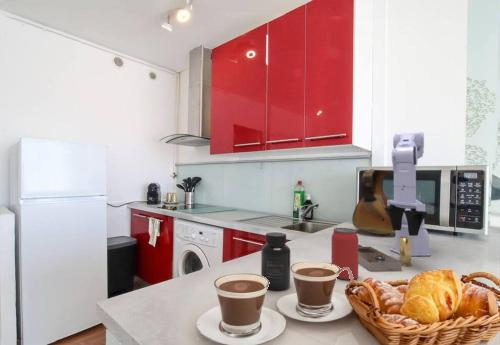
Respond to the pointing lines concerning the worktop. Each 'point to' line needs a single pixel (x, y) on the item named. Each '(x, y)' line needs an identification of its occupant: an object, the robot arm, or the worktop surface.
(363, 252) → the door strike plate
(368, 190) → the ceramic pitcher
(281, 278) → the supplement bottle
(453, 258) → the worktop surface
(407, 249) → the brass pin
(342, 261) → the beer can
